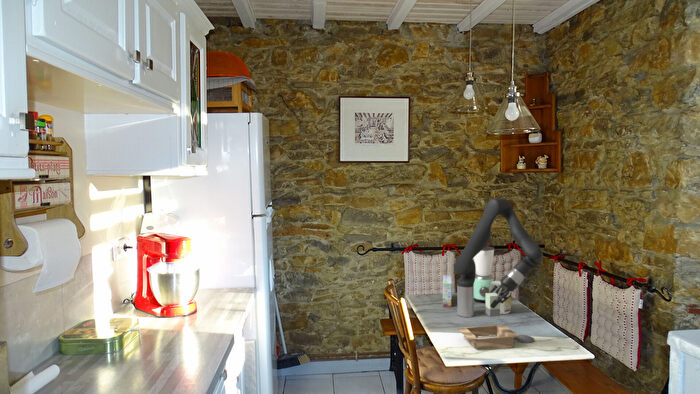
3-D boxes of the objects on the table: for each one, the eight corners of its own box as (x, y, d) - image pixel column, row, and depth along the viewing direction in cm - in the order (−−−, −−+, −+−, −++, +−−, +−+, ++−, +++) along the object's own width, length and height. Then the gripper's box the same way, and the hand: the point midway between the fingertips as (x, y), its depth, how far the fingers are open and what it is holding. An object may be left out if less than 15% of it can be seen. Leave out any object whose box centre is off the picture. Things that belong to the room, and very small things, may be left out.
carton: (457, 337, 218) (457, 327, 218) (503, 334, 221) (503, 324, 221) (469, 350, 203) (469, 339, 203) (519, 346, 206) (519, 336, 206)
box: (485, 313, 214) (485, 293, 213) (495, 312, 214) (495, 292, 214) (490, 316, 209) (489, 296, 208) (500, 316, 209) (499, 295, 209)
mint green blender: (496, 304, 270) (496, 248, 268) (474, 304, 272) (474, 248, 270) (491, 295, 289) (491, 243, 286) (470, 295, 291) (470, 243, 288)
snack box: (452, 307, 266) (452, 283, 265) (442, 307, 267) (442, 283, 266) (451, 297, 287) (451, 275, 286) (442, 297, 288) (442, 274, 287)
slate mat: (511, 336, 218) (511, 335, 218) (527, 335, 219) (527, 334, 219) (520, 343, 209) (520, 342, 209) (537, 342, 211) (537, 341, 211)
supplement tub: (507, 308, 262) (507, 280, 261) (513, 314, 250) (513, 285, 249) (486, 308, 264) (487, 280, 263) (491, 314, 252) (491, 285, 251)
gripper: (500, 271, 218) (477, 296, 218) (514, 278, 204) (490, 304, 204) (510, 281, 219) (487, 306, 219) (525, 288, 205) (501, 315, 204)
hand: (489, 305), depth 211 cm, fingers closed on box, 5 cm apart
